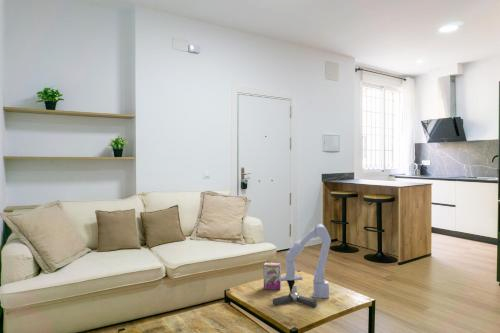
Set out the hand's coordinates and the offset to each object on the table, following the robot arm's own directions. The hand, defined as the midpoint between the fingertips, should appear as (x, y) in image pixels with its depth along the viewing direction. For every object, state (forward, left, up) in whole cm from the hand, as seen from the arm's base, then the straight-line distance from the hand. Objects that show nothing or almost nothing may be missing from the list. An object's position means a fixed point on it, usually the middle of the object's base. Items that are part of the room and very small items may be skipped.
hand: (290, 291), depth 208 cm
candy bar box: (+12, -8, -2) cm, 15 cm away
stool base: (-3, +12, -1) cm, 12 cm away
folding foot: (-2, +1, -1) cm, 3 cm away
